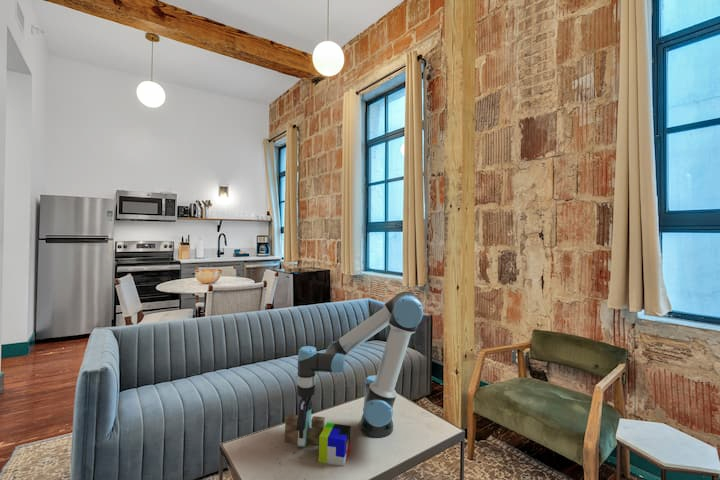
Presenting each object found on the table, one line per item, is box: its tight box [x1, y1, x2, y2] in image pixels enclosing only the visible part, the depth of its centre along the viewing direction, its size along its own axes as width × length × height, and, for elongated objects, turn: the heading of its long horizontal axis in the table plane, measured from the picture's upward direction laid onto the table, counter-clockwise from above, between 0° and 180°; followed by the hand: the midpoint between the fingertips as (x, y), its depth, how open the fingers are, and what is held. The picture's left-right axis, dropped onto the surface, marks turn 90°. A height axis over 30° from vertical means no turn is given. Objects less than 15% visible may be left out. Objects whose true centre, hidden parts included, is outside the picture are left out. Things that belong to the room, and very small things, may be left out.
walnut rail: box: [284, 413, 326, 445], centre depth 146 cm, size 16×3×10 cm, turn 86°
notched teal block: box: [297, 410, 312, 448], centre depth 146 cm, size 11×3×10 cm, turn 176°
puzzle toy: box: [318, 422, 352, 467], centre depth 137 cm, size 10×10×10 cm
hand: (304, 436), depth 146 cm, fingers closed on notched teal block, 11 cm apart
